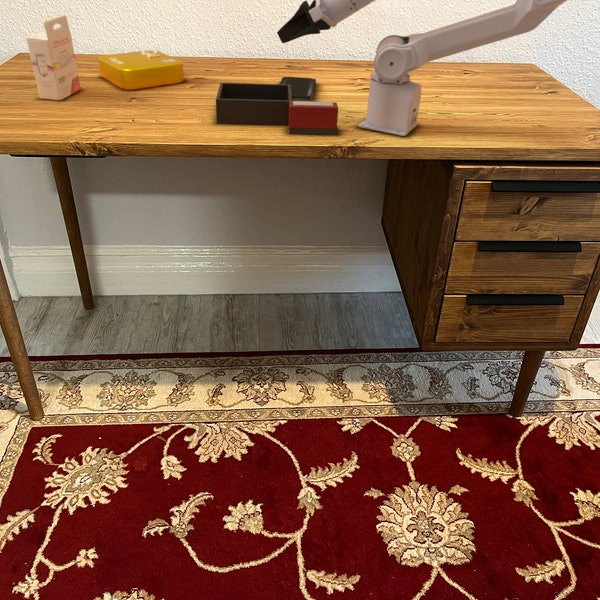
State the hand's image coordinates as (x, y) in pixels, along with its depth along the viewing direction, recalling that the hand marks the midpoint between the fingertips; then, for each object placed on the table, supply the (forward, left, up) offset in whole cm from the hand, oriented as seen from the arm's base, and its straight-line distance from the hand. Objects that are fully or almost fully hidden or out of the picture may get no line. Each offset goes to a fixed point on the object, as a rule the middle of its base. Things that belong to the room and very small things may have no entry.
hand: (285, 36), depth 108 cm
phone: (+6, -17, -15) cm, 24 cm away
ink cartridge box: (+46, +13, -15) cm, 50 cm away
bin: (+5, +2, -15) cm, 16 cm away
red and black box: (-9, +4, -15) cm, 18 cm away
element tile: (+40, -6, -15) cm, 43 cm away
